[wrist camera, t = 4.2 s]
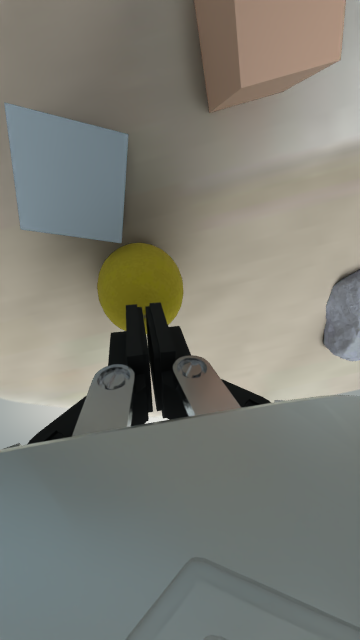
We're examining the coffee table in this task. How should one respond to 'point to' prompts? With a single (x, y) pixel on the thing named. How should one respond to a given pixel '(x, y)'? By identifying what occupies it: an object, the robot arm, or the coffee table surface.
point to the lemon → (139, 282)
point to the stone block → (344, 318)
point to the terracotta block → (265, 45)
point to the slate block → (67, 175)
